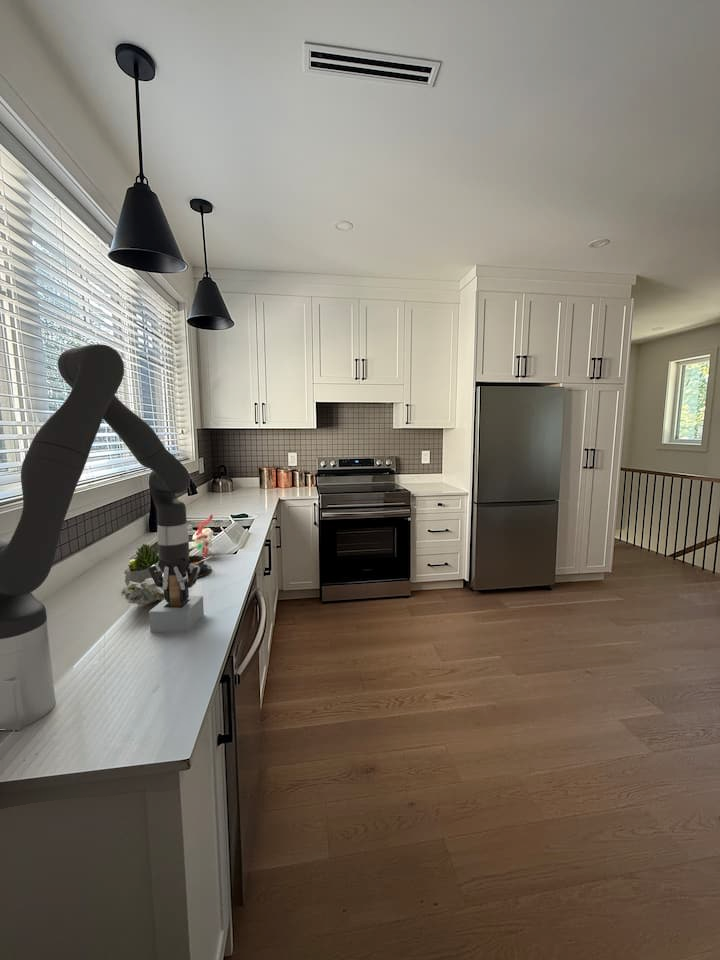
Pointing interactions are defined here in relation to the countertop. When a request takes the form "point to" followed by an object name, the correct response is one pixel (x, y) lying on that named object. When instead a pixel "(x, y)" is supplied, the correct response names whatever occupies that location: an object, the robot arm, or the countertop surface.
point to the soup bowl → (200, 561)
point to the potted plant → (142, 565)
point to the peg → (174, 592)
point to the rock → (143, 592)
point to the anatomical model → (202, 537)
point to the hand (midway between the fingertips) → (176, 600)
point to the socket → (176, 616)
